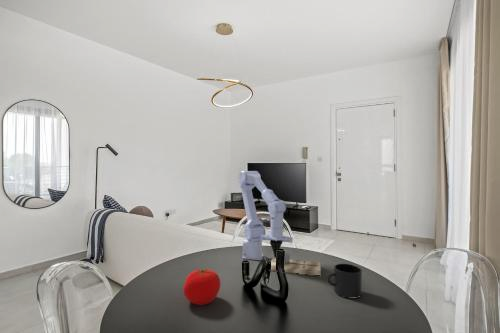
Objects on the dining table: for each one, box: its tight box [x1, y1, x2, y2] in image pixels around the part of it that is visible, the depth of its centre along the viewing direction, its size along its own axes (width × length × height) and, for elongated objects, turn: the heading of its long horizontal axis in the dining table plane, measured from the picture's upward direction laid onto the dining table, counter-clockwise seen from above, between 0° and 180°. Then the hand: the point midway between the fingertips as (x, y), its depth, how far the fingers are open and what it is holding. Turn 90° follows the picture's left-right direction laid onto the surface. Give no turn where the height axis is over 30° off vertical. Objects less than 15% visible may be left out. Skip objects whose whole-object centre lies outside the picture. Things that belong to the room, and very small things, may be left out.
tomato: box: [183, 268, 221, 306], centre depth 88 cm, size 11×12×10 cm
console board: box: [270, 257, 322, 277], centre depth 118 cm, size 22×10×2 cm, turn 76°
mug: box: [327, 263, 363, 297], centre depth 96 cm, size 9×12×9 cm
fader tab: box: [284, 251, 291, 264], centre depth 119 cm, size 3×4×4 cm
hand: (276, 256), depth 120 cm, fingers closed
